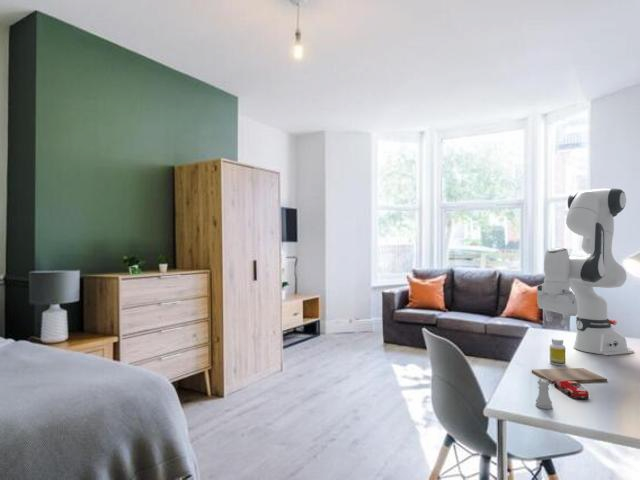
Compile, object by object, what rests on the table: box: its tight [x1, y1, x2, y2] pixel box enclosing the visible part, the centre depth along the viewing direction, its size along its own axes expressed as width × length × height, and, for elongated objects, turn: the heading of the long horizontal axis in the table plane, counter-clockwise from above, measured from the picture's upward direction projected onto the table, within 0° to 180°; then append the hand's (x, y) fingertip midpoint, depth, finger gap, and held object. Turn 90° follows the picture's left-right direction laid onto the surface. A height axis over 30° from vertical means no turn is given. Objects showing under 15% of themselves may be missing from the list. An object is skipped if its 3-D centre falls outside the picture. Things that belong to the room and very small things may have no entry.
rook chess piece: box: [535, 377, 553, 410], centre depth 121 cm, size 4×4×8 cm
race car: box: [554, 380, 590, 400], centre depth 132 cm, size 13×5×4 cm, turn 177°
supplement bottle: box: [549, 337, 566, 366], centre depth 161 cm, size 5×5×10 cm
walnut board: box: [531, 367, 608, 385], centre depth 146 cm, size 20×12×1 cm, turn 93°
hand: (556, 323), depth 161 cm, fingers open, 8 cm apart
